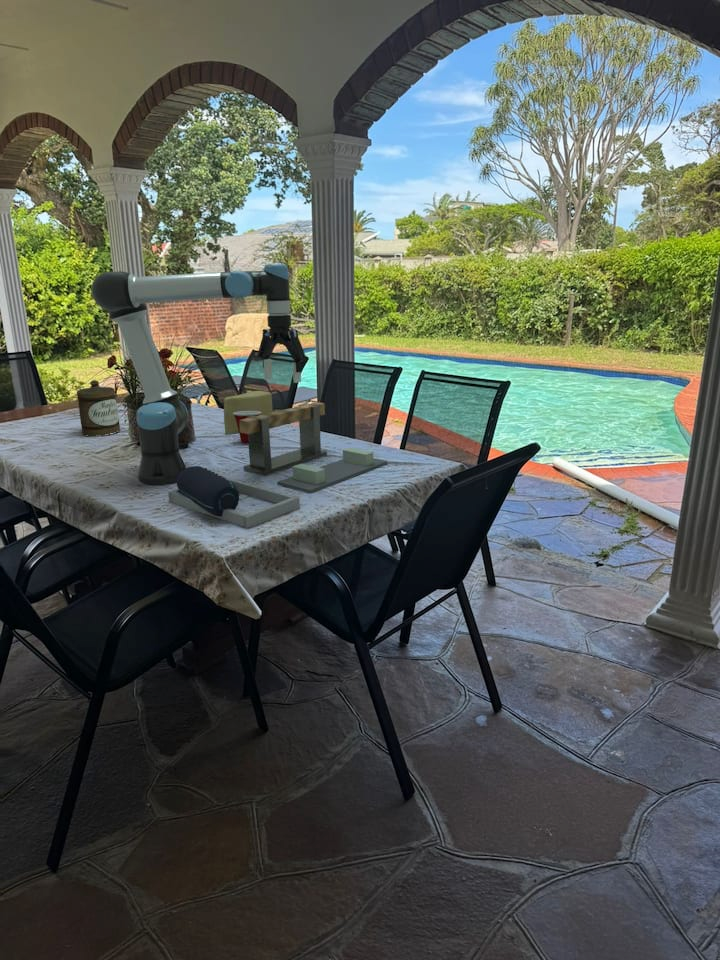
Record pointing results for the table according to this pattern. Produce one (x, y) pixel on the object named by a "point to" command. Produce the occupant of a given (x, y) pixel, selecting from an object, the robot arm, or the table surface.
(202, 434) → the table surface
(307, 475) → the plate with green blocks
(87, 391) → the wooden container
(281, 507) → the speaker dock
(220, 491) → the portable speaker
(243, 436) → the plastic cup
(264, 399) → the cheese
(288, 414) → the rail
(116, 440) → the table surface
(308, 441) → the grey notched post stand
